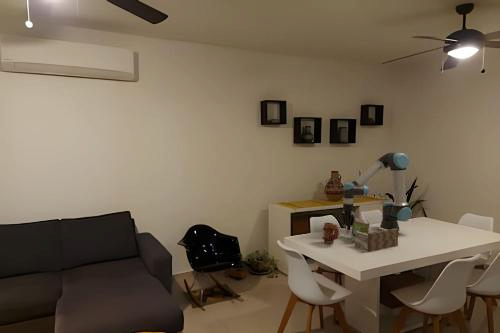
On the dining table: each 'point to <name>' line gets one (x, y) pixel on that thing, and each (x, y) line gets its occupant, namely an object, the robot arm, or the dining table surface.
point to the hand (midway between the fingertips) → (347, 233)
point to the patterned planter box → (377, 239)
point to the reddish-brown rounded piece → (330, 233)
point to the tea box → (359, 227)
